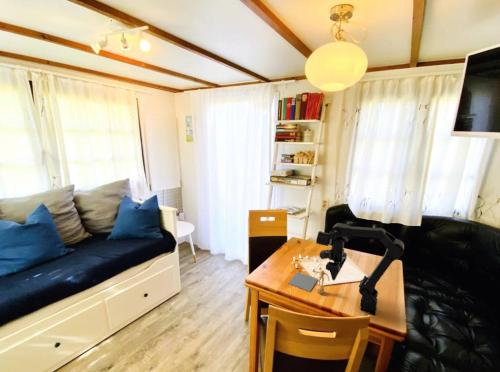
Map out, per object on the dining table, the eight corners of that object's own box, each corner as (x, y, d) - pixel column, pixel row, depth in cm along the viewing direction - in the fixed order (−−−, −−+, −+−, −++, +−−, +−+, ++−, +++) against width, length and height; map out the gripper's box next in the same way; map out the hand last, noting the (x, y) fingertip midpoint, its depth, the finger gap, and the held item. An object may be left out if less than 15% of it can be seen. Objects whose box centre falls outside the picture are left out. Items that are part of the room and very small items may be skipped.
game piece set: (325, 273, 146) (325, 267, 146) (293, 272, 147) (293, 266, 146) (317, 257, 165) (317, 252, 165) (289, 257, 166) (289, 252, 165)
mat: (318, 279, 139) (318, 278, 138) (309, 292, 127) (309, 291, 127) (297, 272, 146) (297, 271, 146) (288, 283, 134) (288, 282, 134)
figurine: (311, 291, 127) (312, 272, 125) (313, 286, 133) (315, 266, 130) (327, 296, 123) (328, 276, 121) (329, 290, 129) (330, 270, 126)
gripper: (326, 238, 131) (325, 264, 134) (315, 251, 116) (314, 279, 119) (347, 242, 125) (346, 269, 127) (339, 256, 110) (337, 286, 112)
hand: (335, 275), depth 122 cm, fingers open, 9 cm apart
